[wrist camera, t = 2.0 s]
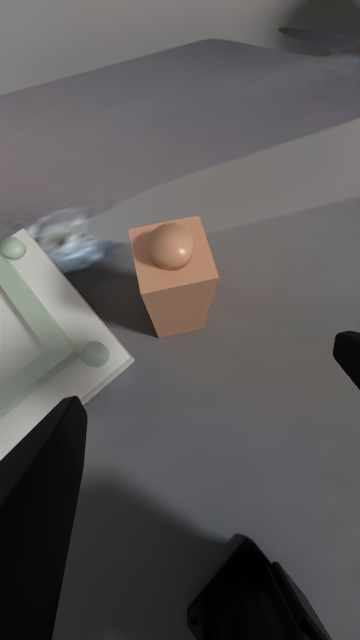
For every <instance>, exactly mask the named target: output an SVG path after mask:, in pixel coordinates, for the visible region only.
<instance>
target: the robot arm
mask: <svg viewBox="0 0 360 640" xmlns="http://www.w3.org/2000/svg"><path fill="white" fill-rule="evenodd" d="M333 356H334V358H335V360H336V361H337V362H338V364H339V365H340V366H341V367H342V369H343V370H344V371H345V372H346V374H347V375H348V376H349V377H350V379H351V380H352V381H353V382H354V384H355V385H356V386H357V387H358V388H359V390H360V333H359V332H354V331H345V332H341V333H338V334H337V335H336V337H335V342H334V348H333ZM86 432H87V413H86V411H85V409H84V407H83V405H82V403H81V401H80V399H79V397H78V396H75V395H74V396H70V397H66V398H63V399H62V400H61V401H60V402H59V403H58V404H57V405H56V406H55V407H54V408H53V409H52V410H51V411H50V412H49V413H48V414H47V415H46V416H45V417H44V418H43V419H42V420H41V421H40V422H39V423H38V424H37V425H36V426H35V427H34V428H33V429H32V430H31V431H30V432H29V433H28V434H27V435H26V436H25V437H24V438H23V439H22V440H21V441H20V442H18V443H17V444H16V445H15V446H14V447H13V448H12V449H11V450H10V451H9V452H8V453H7V454H6V455H5V456H4V457H3V458H2V459H1V460H0V640H52V635H53V629H54V624H55V618H56V613H57V608H58V602H59V597H60V592H61V586H62V581H63V576H64V570H65V565H66V559H67V554H68V549H69V543H70V538H71V533H72V527H73V522H74V517H75V511H76V506H77V500H78V495H79V490H80V484H81V479H82V473H83V467H84V457H85V444H86ZM249 546H252V547H253V549H252V550H251V551H248V550H247V548H248V547H249ZM193 615H196V616H197V619H195V620H193V619H192V618H191V617H192V616H193ZM187 624H188V626H189V628H190V630H191V631H192V633H193V634H194V636H195V637H196V639H197V640H332V639H331V638H330V636H329V634H328V633H327V631H326V629H325V628H324V626H323V624H322V623H321V621H320V620H319V618H318V616H317V615H316V613H315V611H314V610H313V608H312V606H311V605H310V603H309V601H308V600H307V598H306V597H305V595H304V594H303V593H302V591H301V590H300V589H299V588H298V586H297V585H296V584H295V583H294V581H293V580H292V579H291V578H290V576H289V575H288V574H287V573H286V572H285V570H284V569H283V568H282V567H281V565H280V564H279V563H278V562H274V561H273V563H271V562H270V561H269V560H268V558H267V557H266V556H265V555H264V553H263V552H262V551H261V550H260V548H259V547H258V546H257V545H256V543H255V542H254V541H253V540H252V539H249V538H248V539H245V540H244V541H243V542H242V544H241V545H240V546H239V547H238V548H237V550H236V551H235V552H234V553H233V555H232V556H231V557H230V558H229V559H228V561H227V562H226V563H225V564H224V565H223V567H222V568H221V569H220V570H219V572H218V573H217V574H216V575H215V576H214V578H213V579H212V580H211V581H210V582H209V584H208V585H207V586H206V587H205V589H204V590H203V591H202V592H201V593H200V595H199V596H198V597H197V598H196V599H195V601H194V602H193V603H192V604H191V606H190V607H189V608H188V610H187Z"/></svg>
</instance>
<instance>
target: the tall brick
mask: <svg viewBox="0 0 360 640" xmlns="http://www.w3.org/2000/svg"><path fill="white" fill-rule="evenodd" d="M128 231H129V236H130V241H131V246H132V252H133V257H134V262H135V267H136V272H137V278H138V283H139V288H140V293H141V296H142V299H143V301H144V303H145V306H146V308H147V311H148V313H149V315H150V318H151V320H152V322H153V325H154V327H155V330H156V332H157V334H158V337H159V338H162V337H167V336H171V335H176V334H180V333H184V332H189V331H193V330H198V329H202V328H204V325H205V322H206V318H207V315H208V312H209V309H210V305H211V302H212V299H213V296H214V292H215V289H216V286H217V283H218V279H219V276H218V273H217V270H216V267H215V263H214V260H213V257H212V254H211V251H210V248H209V245H208V242H207V238H206V235H205V232H204V229H203V226H202V223H201V220H200V217H199V216H194V217H189V218H184V219H178V220H173V221H168V222H163V223H158V224H153V225H148V226H143V227H137V228H132V229H128Z"/></svg>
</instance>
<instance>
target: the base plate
mask: <svg viewBox="0 0 360 640" xmlns="http://www.w3.org/2000/svg"><path fill="white" fill-rule="evenodd" d="M134 361H135V359H134V358H133V357H132V356H131V355H130V353H129V352H128V351H127V350H126V349H125V347H124V346H123V345H122V344H121V343H120V341H119V340H118V339H117V338H116V337H115V335H114V334H113V333H112V332H111V331H110V329H109V328H108V327H107V326H106V325H105V323H104V322H103V321H102V320H101V319H100V317H99V316H98V315H97V314H96V313H95V311H94V310H93V309H92V308H91V307H90V305H89V304H88V303H87V302H86V301H85V299H84V298H83V297H82V296H81V295H80V293H79V292H78V291H77V290H76V289H75V287H74V286H73V285H72V284H71V283H70V281H69V280H68V279H67V278H66V277H65V275H64V274H63V273H62V272H61V271H60V269H59V268H58V267H57V266H56V265H55V263H54V262H53V261H52V260H51V259H50V257H49V256H48V255H47V254H46V253H45V251H44V250H43V249H42V248H41V247H40V245H39V244H38V243H37V242H36V241H35V239H34V238H33V237H32V236H31V235H30V234H29V233H28V232H27V231H26V230H25V229H24V228H23V229H22V230H20V231H19V232H17V233H15V234H14V235H12V236H11V237H6V238H4V239H3V240H2V241H1V242H0V460H1V459H2V458H3V457H4V456H5V455H6V454H7V453H8V452H9V451H10V450H11V449H12V448H13V447H14V446H15V445H16V444H17V443H18V442H20V441H21V440H22V439H23V438H24V437H25V436H26V435H27V434H28V433H29V432H30V431H31V430H32V429H33V428H34V427H35V426H36V425H37V424H38V423H39V422H40V421H41V420H42V419H43V418H44V417H45V416H46V415H47V414H48V413H49V412H50V411H51V410H52V409H53V408H54V407H55V406H56V405H57V404H58V403H59V402H60V401H61V400H62V399H63V398H66V397H70V396H74V395H75V396H78V397H79V399H80V401H81V403H82V405H84V404H85V403H87V402H88V401H89V400H90V399H91V398H92V397H94V396H95V395H96V394H97V393H98V392H99V391H100V390H102V389H103V388H104V387H105V386H106V385H107V384H109V383H110V382H111V381H112V380H113V379H114V378H116V377H117V376H118V375H119V374H120V373H121V372H123V371H124V370H125V369H126V368H127V367H128V366H130V365H131V364H132V363H133V362H134Z"/></svg>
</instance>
